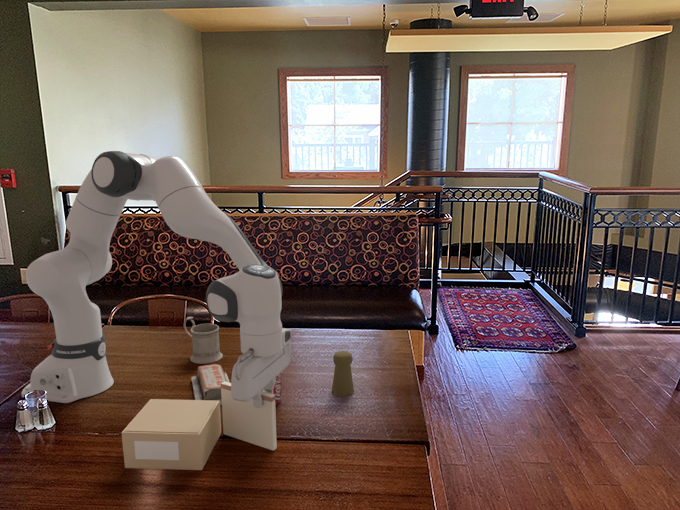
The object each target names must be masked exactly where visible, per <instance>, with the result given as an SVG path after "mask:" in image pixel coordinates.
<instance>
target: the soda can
mask: <svg viewBox="0 0 680 510" xmlns="http://www.w3.org/2000/svg"><path fill="white" fill-rule="evenodd" d="M282 383H283V382H282V372H281V373H280V374H279V375H278V376H277V377H276V381H275V385H274V389H273V395H275V406H276V405H277V404H278V403H280V401H282V397H283V396H282V394H283V391H282V389H283V387H282ZM264 389H265V387H264V388H263V389H262V392H263V390H264Z"/></svg>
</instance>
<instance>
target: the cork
mask: <svg viewBox="0 0 680 510" xmlns="http://www.w3.org/2000/svg"><path fill="white" fill-rule="evenodd" d="M353 359H354V358H353V355H352V353H351V352H349V351H347V350H339V351H337V352H335V353H334V354H333V357H332V361H333V364H334V373H333V379H332V388H331V393H332V394H334V395H335V396H338V397H347V396H351V395H353V394H354V392H355V387H354V382H353V374H352V366H351V365H352V363H353V361H354V360H353Z"/></svg>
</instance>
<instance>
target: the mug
mask: <svg viewBox="0 0 680 510" xmlns="http://www.w3.org/2000/svg"><path fill="white" fill-rule="evenodd" d="M193 319H194V316H187V317H186V318H185V319H184V321H183V328H184V332H185V333H186V335H187V336H188V337H190V338H191V341H192V343H191V344H192V354H191V356H190V358H189V359H190V362H192V363H194V364H198V365H201V364H202V365H203V364H205V365H208V364H213V363H216V362H218V361H220V360H221V359H222V358H223V357H224V354H223V353H222V352H221V350H220V337H219V336H220V335H219V334H220V333H219V329H220V326H219V325H217V324H216V323H215V324H214V323H200V324H197V325H196V323H195V321H194V320H193ZM187 321H191V323H192V325H191V329H190V332H191V334H190V332H189V331H188V329H187V326H186V324H187Z"/></svg>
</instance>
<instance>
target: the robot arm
mask: <svg viewBox="0 0 680 510" xmlns="http://www.w3.org/2000/svg"><path fill="white" fill-rule="evenodd" d="M128 200H131V201H138V202H139V201H154V202H155V204H156V205H157V208H158V210H159V212H160V214H161V216H162V219H163V220H164V222H165V223H166V225H167V227H169V229H170V230H172V232H174V233H176V234H177V235H179V236H181V237H184V238H187V239H193V240H200V241H204V242H208V243H212V244H214V245H216V246H218V247H220V248H221V249H223V250H224V251H225V252H226V253H227V255H228V256H229V257H230V259H231V261H233V263H234V264H235V266H236V268H237V269H238V270H239V271H237V272H235V273H234V274H231V275H227V276H224V277H221V278H218V279H216V280H213V281H211V283H210V284H209V285H208V287H207V290H206V292H205V304H206V308H207V311H208V313H209V314H210V316H212V317H213V318H214V319H215V320H218V321H219V322H223V323H231V322H232V323H233V322H237V323H239V327H240V328H239V338H240V339H239V340H240V352H241V353H242V354H241V355H239V356H238V358H237V361H236V362H235V363H234V365H233V367H232V370H231V379H230V380H231V382H230V383H231V396H232V398H233V399H234V400H237V401H242V402H248V401H249V400H250V399H253V406H254V407H255V408H261V407H262V406H263V405H264V398H262V397H261V395H260V394H261V393H262V389H263V388H264V387H265V389H264V390H263V392H266V393H270V394H273V389H274V385H275V381H276V377H277V376H278V375H279V374H280V373H281V374H282V373H283V371H285V370H287V369H286V368H288V367H289V366H290V363H291V359H292V357H291V356H292V355H291V354H292V347H291V346H292V343H291V339H292V337H293V336H292V335H293V332H292V331H293V330H292V329H291V328H285V327H283V323H282V321H281V312H282V308H283V307H282V306H283V305H282V296H283V283H282V280H281V279H280V277H279V276H278V275H279V274H278V272H277V271H276V269H274V268H273V267H270V266H269V265H268V264H267V263H266V262H265V261H264V259H262V256H261V255H260V254H259V253H258V252H257V249H255V247H254V246H253V244H252V243H251V242H250V240H249V239H248V238H247V236H246V235H245V233H244V232H243V230H242V229H241V228H240V226H239V225H238V224H237V222H235V220H234V219H233V218H232V217H231V216H230V215H228V214H226V213H225V212H224V211H223V210H221V209H220V208H219V207H218V206H217V205H216V204H215V203H214V202H213V201H212V200H211V198H210V197H209V195H208V194H207V192H206V191H205V189H204V187H203V185H202V184H201V182H200V180H199V178H198V177H197V175H196V174H195V173H194V171H193V170H192V169H191V167H190V166H189V165H188V164H187V163H186V162H185V161H184V159H182V158H181V157H178V156H173V155H167V156H163V157H160V158H157V157H154V156H150V155H146V154H142V153H140V154H138V153H131V152H124V151H120V150H110V151H104V152H102V153H100V154H99V155H98V156H96V158H95V159H94V161H93V164H92V167H91V169H90V171H89V172H88V174H87V175H86V177H85V179H84V180H83V181H82V183H81V186H80V187H79V189H78V191H77V194H76V196H75V198H74V201H73V203H72V206H71V207H70V211H69V212H68V216H67V218H66V221H65V225H66V229H67V231H68V232H69V233H70V234H69V235H70V237H69V241H68V244H67V245H66V246H65V247H64V248H61V249H58V250H56V251H55V250H54V251H51V252H49V253H48V252H47V253H45V254H43V255H42V256H40V257H38V258H36V259H35V260H33V261H32V262H31V263H30V264H29V265H28V266H27V269H26V272H25V279H26V283H27V286H28V287H29V289H30V290H31V291H32V292H33V293H34V294H36V295H37V296H38V297H41V298H42V299H44V301H45V302H46V304H47V306H48V307H49V309H50V312H51V314H52V319H53V324H54V325H53V326H54V331H55V337H56V339H55V340H53V341H52V342H51V343H50V344H48V345H47V346H46V348H47V351H49V350H51V349H52V350H51V353H50V355H48V356H47V357H46V358H45V359H44V360H43V361H41V362H40V363H38V364H37V365H36V367H34V368H33V370H32V372H31V374H30V383H28V384H27V385H26V386H25V387H24V388H23V389H22V391H21V398H24V395H26V394H27V393H28V392H31V391H34V390H46V391H47V400H48V401H47V402H55V403H59V404H60V403H61V404H69V403H72V402H75V401H77V400H81V399H84V398H89V397H92V396H96V395H99V394H100V393H103V392H105V391H107V390H108V389H110V388H111V387H112V386H113V384H114V382H115V381H114V378H113V377H112V374H111V371H110V368H109V365H108V360H107V356H106V355H107V354H106V352H107V351H106V350H107V349H106V348H107V347H106V339H105V334H104V333H103V329H102V328H103V327H102V318H101V317H102V316H101V309H100V308H99V305H97V304H96V303H94V302H92V301H91V300H90V299H89V295H88V293H87V290H86V289H87V288H86V286H89V285H92V284H93V283H95V282H97V281H100V280H101V279H102V278H104V277H105V276H106V274H108V273H109V272H110V270H111V269H112V265H113V258H112V257H113V256H112V255H111V252H110V245H111V244H110V243H111V241H112V237H113V234H114V232H115V229H116V227H117V224H118V222H119V220H120V218H121V215H122V213H123V210H124V208H125V205H126V203H127V201H128Z"/></svg>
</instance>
